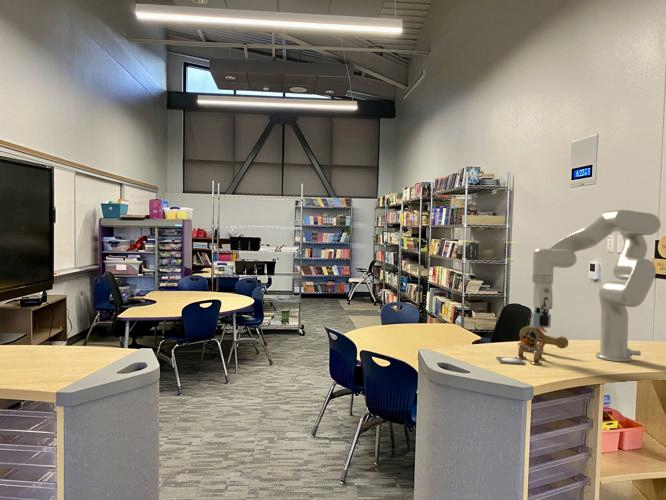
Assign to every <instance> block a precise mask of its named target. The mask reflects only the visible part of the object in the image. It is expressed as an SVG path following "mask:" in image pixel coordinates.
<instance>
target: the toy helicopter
mask: <svg viewBox="0 0 666 500" xmlns="http://www.w3.org/2000/svg"><path fill="white" fill-rule="evenodd" d="M529 320H530V321H531V322H532V318H529ZM544 333H548V331H547V330H546V328H543V327H535V326H532V325H527V326H523V327H522V328H521V329H520V330H519V341H523V342H524V345H526V346H529V347H532V348H535V349H536V348H537V345H536V344H537V342H541V343H542V352H544V347H545V345H552V346H556V347H557V348H559V349H566V348H567V347H568V346H569V340H568V339H567V337H565V336H558V337H554V336H552V335H545V334H544ZM517 347H518V348H519V345H518V344H517ZM528 350H529V349H528V348H525V347H523V352H526V351H528Z"/></svg>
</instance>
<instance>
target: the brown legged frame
mask: <svg viewBox="0 0 666 500" xmlns="http://www.w3.org/2000/svg"><path fill="white" fill-rule="evenodd" d="M518 345H519V347H518V355H515V357H514V358H520V359H521V360H527V356H525V355H524V351H523V347H525V348H528V350H531V351H533V361H530V364H531V365H533V366H542V365H543V362H541V361H545V357H542V355H543V353H542V352H543V351H542V343H541V342H537V344H536V345H537V348H536V349H535V348H532V347H529V346H526V345H524V342H523V341H520V340H519V341H518V343H517V346H518Z"/></svg>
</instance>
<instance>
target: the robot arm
mask: <svg viewBox="0 0 666 500" xmlns="http://www.w3.org/2000/svg"><path fill="white" fill-rule="evenodd" d="M661 223H662V222H661V221H660V218H659V217H658V216H657V215H655V214H653V213H649V212H643V211H634V210H630V209H629V210H628V209H615V210H607V211H603V212H602V213H600V214H599V215H597V216H596V217H594V218H593V219H592V220H591V221H590V222H589V223H587V224H586V225H585V226H583V227H582V228H580V229H579V230H577V231H575V232H573V233H571V234H570V235H567V236H565V237H564V238H561V239H560V240H558V241H557V242H555V243H553V245H551V246H549V247H548V248H535V249H534V250H533V259H532V281H531V282H532V283H533V284H534V286H533V297H532V301H533V302H532V304H533V306H534V310H533V311H534V312H533V313H541V315H540V320H539V325H540V326H548V320H549V314H550V310H551V309H553V301H554V300H553V284H554V268H559V269H568V268H571V267H574V266H575V264H576V262H577V255H576V252H577V253H578V252H579V251H585V250H587V249H591V248H594V247H595V246H597V245H598V244H600V243H601V242H602V241H604V239H606V238H607V237H608V236H610V235H612V233H614V232H619V233H620V235H621V237H622V240H623V246H622V248H621V251H620V254H619V256H618V258H617V260H616V262H615V264H614V267H613V271H612V272H613V273H612V274H613V276H614V277H615V278H616V279H618V281H617V280H616V281H615V280H610V281H606V282H604V283H603V284H601V286H600V287H599V289H598V296H599V301H600V302H599V303H600V308H601V310H600V314H601V315H600V317H601V318H600V350H599V352H596V353H595V357H596V358H598V359H600V360H605V361H611V362H623V363H625V362H627V363H628V362H631V361H632V360H633V359H632V358H633V357H632V356H638V357H639V356H641V355H642V353H641V351H640V350H634V349H630V348H628V342H629V341H628V337H629V334H628V333H629V313H628V310H627V308H635V307H638V306H639V307H640V306H641V305H642V304H643V302H644V301H645V299H646V297H647V295H648V293H649V291H650V289H651V287H652V285H653V282H654V280H655V278H656V273H657V271H656V266H655V263H654V262H653V261H652V260H650V259H648V258H646V255H647V252H648V244H647V241H646V239H645V237H644V236H651V235H654V234H656V233H657V232H659V231H660V229H661V227H662V226H661ZM619 280H621V281H619Z"/></svg>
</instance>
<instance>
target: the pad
mask: <svg viewBox="0 0 666 500" xmlns="http://www.w3.org/2000/svg"><path fill="white" fill-rule="evenodd" d="M495 359H496V360H497V361H498V363H500V364H502V365H518V366H519V365H520V366H521V365H522V366H526V365H527V363H526V362H525V361H524V359H520V358H515V357H509V356H496V357H495Z"/></svg>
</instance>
